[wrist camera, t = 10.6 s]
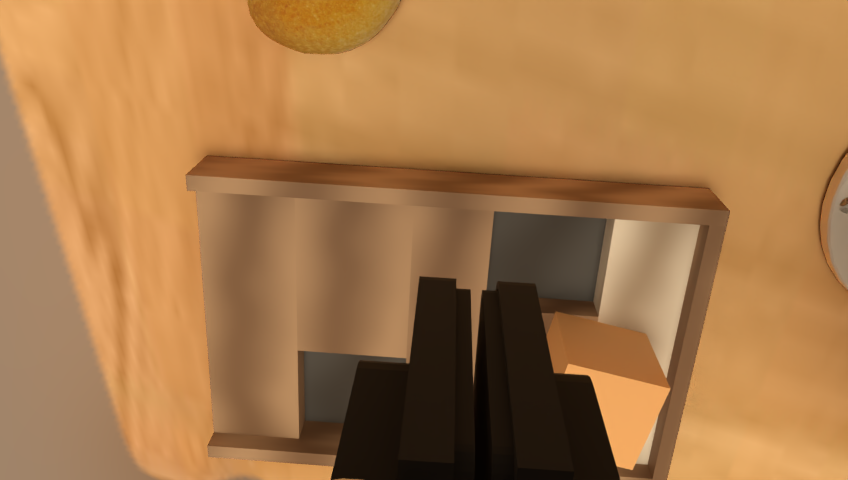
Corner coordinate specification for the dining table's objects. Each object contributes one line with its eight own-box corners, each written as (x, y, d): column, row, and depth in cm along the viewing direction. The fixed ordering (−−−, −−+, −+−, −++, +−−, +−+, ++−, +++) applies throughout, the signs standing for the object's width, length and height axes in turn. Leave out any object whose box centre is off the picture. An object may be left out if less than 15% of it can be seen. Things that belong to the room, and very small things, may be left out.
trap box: (709, 188, 38) (730, 211, 35) (650, 453, 44) (664, 491, 42) (206, 155, 38) (185, 174, 35) (224, 422, 45) (208, 457, 42)
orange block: (646, 333, 39) (670, 388, 34) (613, 408, 41) (632, 470, 36) (555, 311, 39) (568, 363, 34) (527, 387, 41) (535, 447, 36)
